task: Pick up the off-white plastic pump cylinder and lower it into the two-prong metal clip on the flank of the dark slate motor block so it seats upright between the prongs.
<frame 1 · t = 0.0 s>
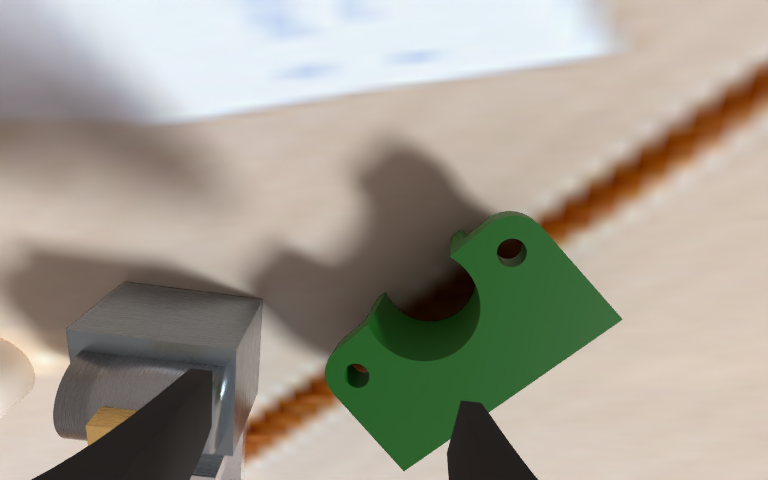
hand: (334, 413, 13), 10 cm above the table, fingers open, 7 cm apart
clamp: (448, 294, 23), on the table
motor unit: (194, 471, 27), on the table
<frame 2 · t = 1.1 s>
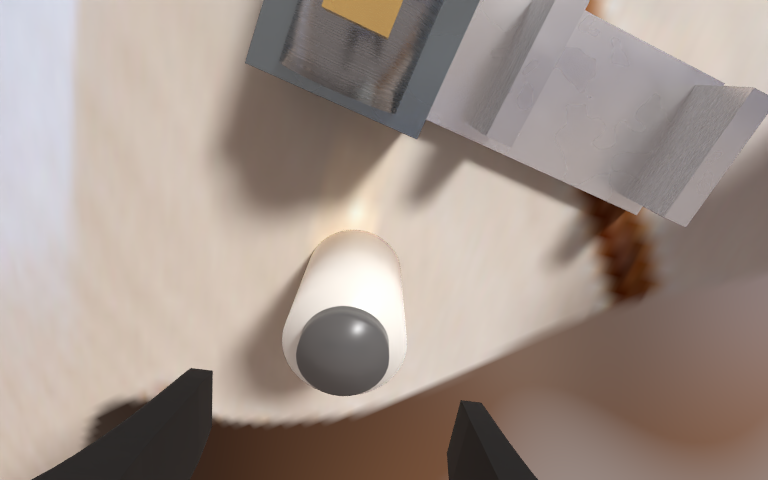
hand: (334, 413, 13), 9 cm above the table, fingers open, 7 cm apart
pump: (354, 273, 22), on the table
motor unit: (583, 108, 19), on the table
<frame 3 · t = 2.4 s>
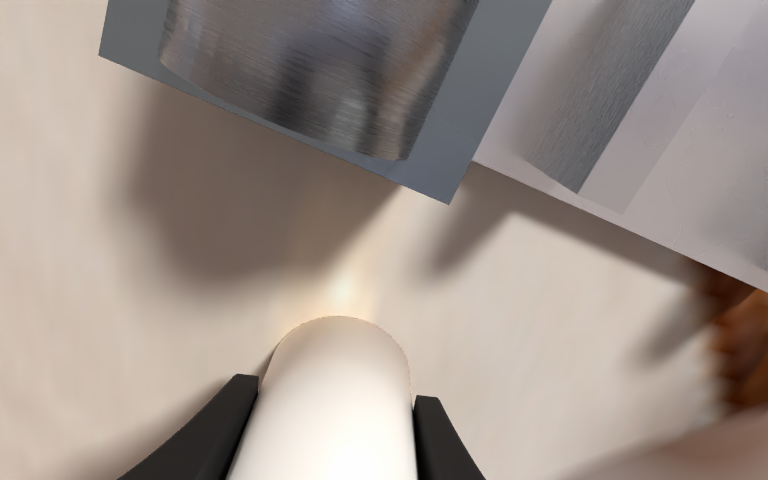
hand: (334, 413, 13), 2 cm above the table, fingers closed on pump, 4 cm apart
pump: (339, 376, 14), on the table, touching gripper
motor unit: (708, 133, 12), on the table
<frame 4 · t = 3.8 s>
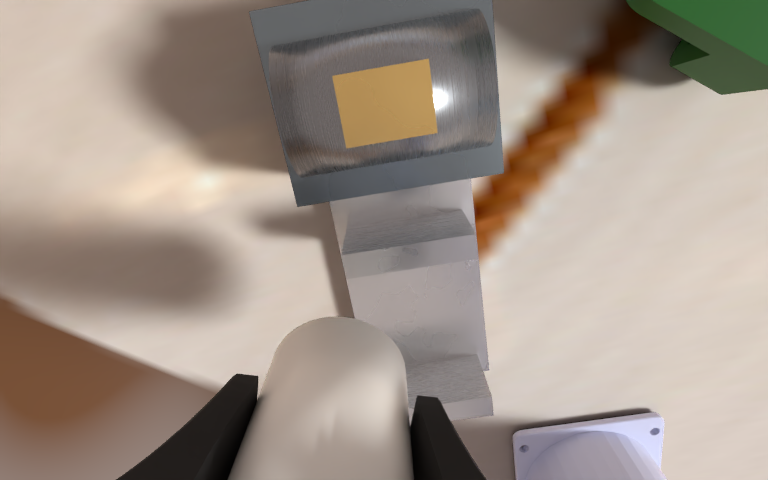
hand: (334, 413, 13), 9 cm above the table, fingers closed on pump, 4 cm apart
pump: (339, 374, 15), point 7 cm above the table, touching gripper
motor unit: (416, 295, 21), on the table
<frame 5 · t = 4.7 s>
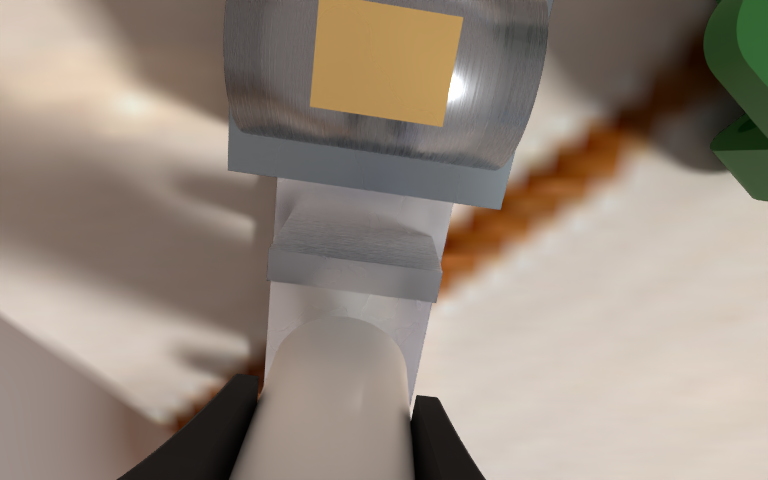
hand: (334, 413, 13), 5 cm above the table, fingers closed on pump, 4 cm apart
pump: (339, 374, 15), point 3 cm above the table, touching gripper
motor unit: (348, 319, 18), on the table
when the fingers open (4 cm above the table, at t = 5.4 s): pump stays where it is, resting on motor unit.
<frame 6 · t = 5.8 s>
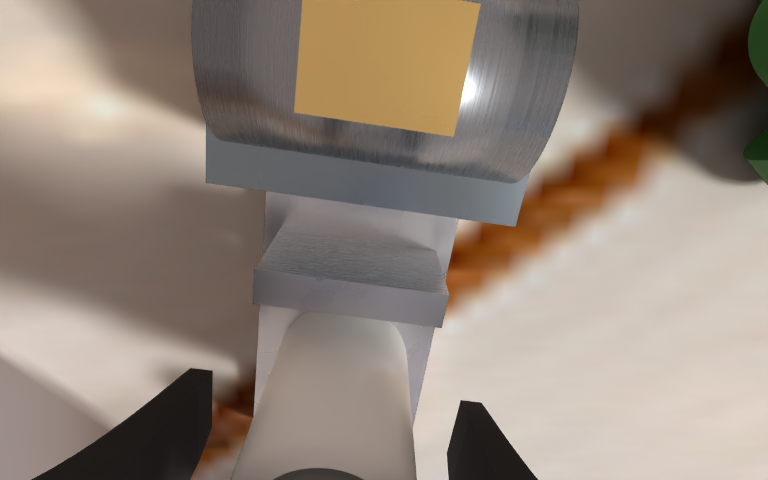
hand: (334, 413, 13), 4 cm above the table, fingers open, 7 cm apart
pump: (343, 359, 16), point 1 cm above the table, touching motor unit
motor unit: (345, 338, 16), on the table
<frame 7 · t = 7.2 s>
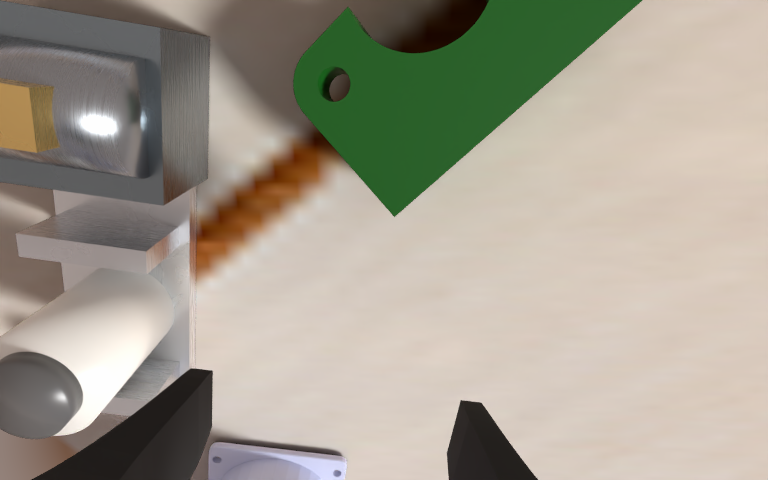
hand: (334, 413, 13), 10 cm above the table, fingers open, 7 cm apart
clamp: (452, 50, 19), on the table
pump: (128, 306, 22), point 1 cm above the table, touching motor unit
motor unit: (135, 292, 23), on the table
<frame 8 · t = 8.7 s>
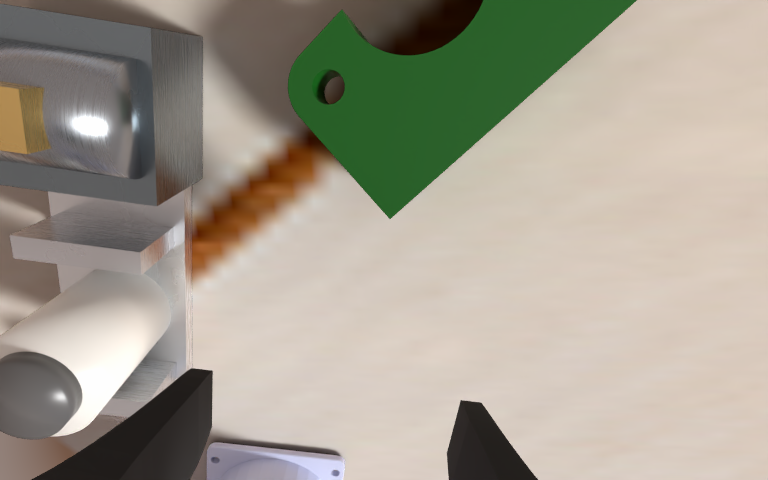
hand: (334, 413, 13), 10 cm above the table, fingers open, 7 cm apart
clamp: (448, 51, 19), on the table
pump: (124, 307, 22), point 1 cm above the table, touching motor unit
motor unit: (132, 293, 23), on the table
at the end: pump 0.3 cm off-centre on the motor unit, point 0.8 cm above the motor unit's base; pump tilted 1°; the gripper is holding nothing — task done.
